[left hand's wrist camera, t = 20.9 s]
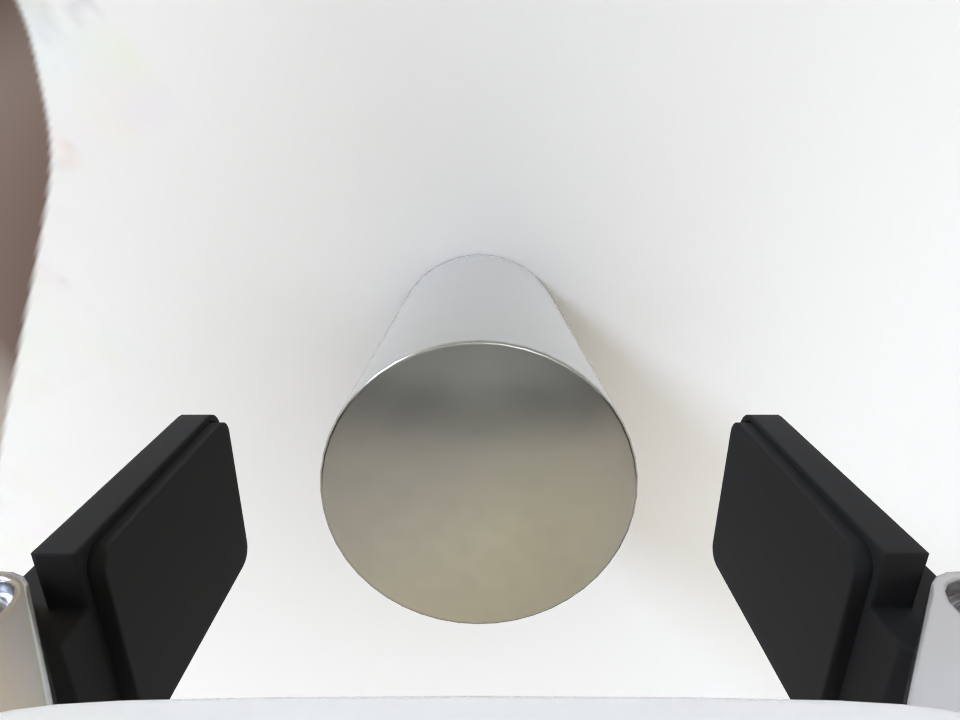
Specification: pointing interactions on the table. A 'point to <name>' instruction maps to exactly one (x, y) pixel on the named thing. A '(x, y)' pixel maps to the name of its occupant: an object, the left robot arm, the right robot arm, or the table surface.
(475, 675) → the table surface
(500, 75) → the table surface
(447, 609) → the can
